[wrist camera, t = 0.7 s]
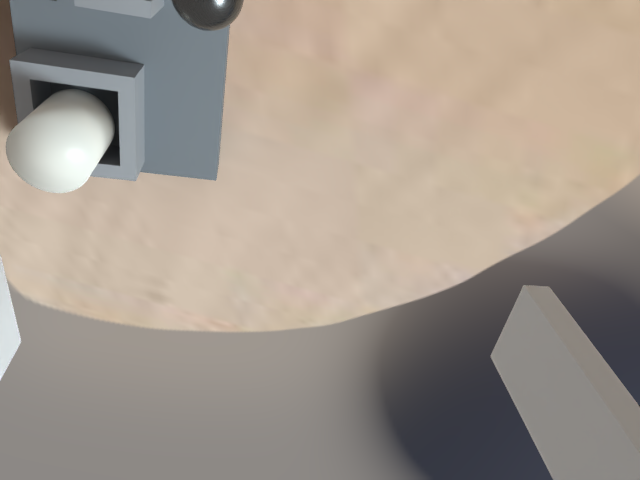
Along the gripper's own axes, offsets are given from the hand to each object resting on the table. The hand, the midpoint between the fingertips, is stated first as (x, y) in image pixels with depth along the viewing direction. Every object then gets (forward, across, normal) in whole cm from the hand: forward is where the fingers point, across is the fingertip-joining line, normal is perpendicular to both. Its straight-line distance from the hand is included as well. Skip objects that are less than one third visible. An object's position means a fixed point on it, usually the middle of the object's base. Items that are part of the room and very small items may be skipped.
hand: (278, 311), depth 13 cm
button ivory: (+20, -11, -3) cm, 23 cm away
